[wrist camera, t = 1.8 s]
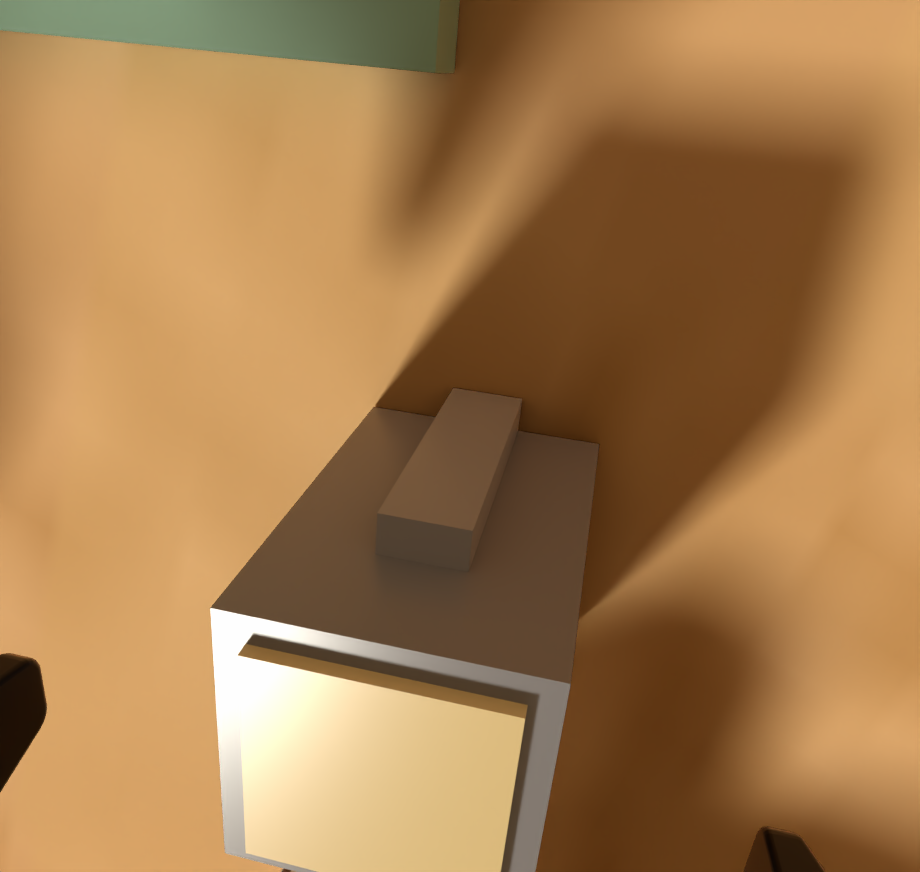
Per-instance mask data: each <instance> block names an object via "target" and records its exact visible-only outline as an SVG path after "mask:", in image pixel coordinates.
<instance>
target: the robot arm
mask: <svg viewBox="0 0 920 872" xmlns="http://www.w3.org/2000/svg"><path fill="white" fill-rule="evenodd" d="M46 711H47V703H46V698H45V692H44V686H43V680H42V675H41V669H40V665H39V664H38V662H37V661H36V660H35V659H33V658H29V657H24V656H20V655H16V654H11V653H6V654H1V655H0V792H1V791H2V789H3V787H4V786H5V784H6V783H7V781H8V779H9V778H10V776H11V775H12V773H13V771H14V770H15V768H16V767H17V765H18V763H19V762H20V760H21V759H22V757H23V755H24V754H25V752H26V751H27V749H28V747H29V746H30V744H31V743H32V741H33V739H34V738H35V736H36V735H37V733H38V731H39V730H40V728H41V726H42V724H43V722H44V720H45V716H46ZM744 872H825V870H824V869H823V867H822V866H821V864H820V863H819V861H818V860H817V858H816V857H815V855H814V854H813V853H812V851H811V850H810V848H809V847H808V845H807V844H806V842H805V841H804V840H803V838H801V837H800V836H799V835H798V834H796V833H793V832H789V831H785V830H781V829H776V828H772V827H768V826H767V827H762V828H761V829H760V830H759V831H758V833H757V835H756V838H755V840H754V843H753V846H752V849H751V852H750V855H749V857H748V860H747V863H746V866H745V869H744Z"/></svg>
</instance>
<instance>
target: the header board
mask: <svg viewBox="0 0 920 872" xmlns="http://www.w3.org/2000/svg"><path fill="white" fill-rule="evenodd" d="M459 5H460V0H0V30H3V31H13V32H24V33H34V34H44V35H54V36H64V37H74V38H85V39H95V40H105V41H115V42H125V43H136V44H146V45H156V46H166V47H176V48H186V49H197V50H207V51H217V52H227V53H237V54H248V55H258V56H268V57H278V58H288V59H298V60H309V61H319V62H329V63H339V64H349V65H359V66H370V67H380V68H390V69H400V70H410V71H421V72H431V73H454V71H455V58H456V45H457V32H458V18H459Z"/></svg>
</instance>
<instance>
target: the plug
mask: <svg viewBox="0 0 920 872" xmlns="http://www.w3.org/2000/svg"><path fill="white" fill-rule="evenodd" d="M521 405H522V399H521V398H514V397H508V396H502V395H496V394H489V393H483V392H477V391H470V390H464V389H458V388H453V389H452V391H451V393H450V394H449V396H448V397H447V399H446V401H445V402H444V404H443V406H442V407H441V409H440V411H439V412H438V414H437V416H436V417H432V416H426V415H420V414H414V413H408V412H402V411H396V410H390V409H384V408H377V407H373V409H372V410H371V411H370V412H369V414H368V415H367V416H366V417H365V418H364V420H363V421H362V422H361V423H360V425H359V426H358V427H357V428H356V430H355V431H354V432H353V433H352V434H351V436H350V437H349V438H348V439H347V441H346V442H345V443H344V444H343V445H342V447H341V448H340V449H339V450H338V452H337V453H336V454H335V455H334V457H333V458H332V459H331V460H330V461H329V463H328V464H327V465H326V466H325V468H324V469H323V470H322V471H321V473H320V474H319V475H318V476H317V477H316V479H315V480H314V481H313V482H312V484H311V485H310V486H309V487H308V489H307V490H306V491H305V492H304V493H303V495H302V496H301V497H300V498H299V500H298V501H297V502H296V503H295V505H294V506H293V507H292V508H291V509H290V511H289V512H288V513H287V514H286V516H285V517H284V518H283V519H282V521H281V522H280V523H279V524H278V525H277V527H276V528H275V529H274V530H273V532H272V533H271V534H270V535H269V537H268V538H267V539H266V540H265V541H264V543H263V544H262V545H261V546H260V548H259V549H258V550H257V551H256V553H255V554H254V555H253V556H252V557H251V559H250V560H249V561H248V562H247V564H246V565H245V566H244V567H243V568H242V570H241V571H240V572H239V573H238V575H237V576H236V577H235V578H234V580H233V581H232V582H231V583H230V584H229V586H228V587H227V588H226V589H225V591H224V592H223V593H222V594H221V596H220V597H219V598H218V599H217V600H216V602H215V603H214V604H213V605H212V607H211V608H210V609H211V626H212V643H213V660H214V677H215V694H216V710H217V727H218V744H219V761H220V778H221V795H222V812H223V828H224V845H225V853H227V854H230V855H234V856H238V857H242V858H246V859H250V860H254V861H257V862H261V863H265V864H269V865H273V866H277V867H280V868H284V869H288V870H292V871H296V872H535V871H536V866H537V860H538V855H539V850H540V845H541V839H542V834H543V829H544V823H545V818H546V813H547V807H548V802H549V797H550V792H551V786H552V781H553V776H554V770H555V765H556V760H557V754H558V749H559V744H560V738H561V733H562V728H563V723H564V717H565V712H566V707H567V701H568V696H569V691H570V685H571V678H572V669H573V661H574V653H575V644H576V636H577V627H578V619H579V611H580V602H581V594H582V585H583V577H584V569H585V560H586V552H587V543H588V535H589V527H590V518H591V510H592V501H593V493H594V485H595V476H596V468H597V459H598V451H599V444H596V443H590V442H584V441H578V440H572V439H565V438H559V437H553V436H547V435H541V434H535V433H529V432H523V431H518V428H519V420H520V413H521Z"/></svg>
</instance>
